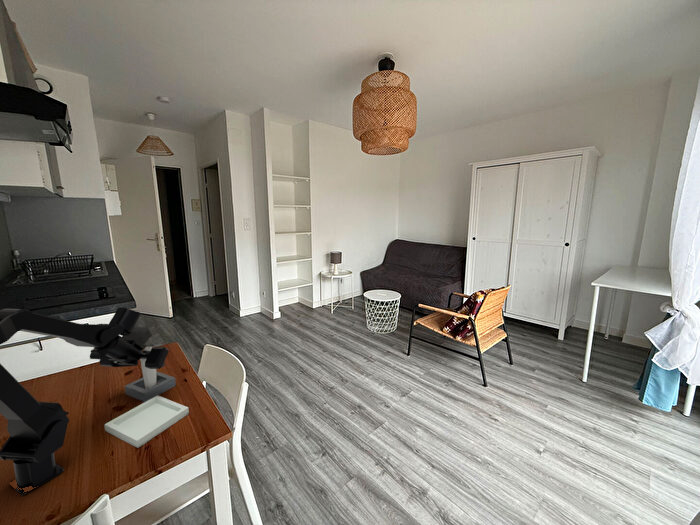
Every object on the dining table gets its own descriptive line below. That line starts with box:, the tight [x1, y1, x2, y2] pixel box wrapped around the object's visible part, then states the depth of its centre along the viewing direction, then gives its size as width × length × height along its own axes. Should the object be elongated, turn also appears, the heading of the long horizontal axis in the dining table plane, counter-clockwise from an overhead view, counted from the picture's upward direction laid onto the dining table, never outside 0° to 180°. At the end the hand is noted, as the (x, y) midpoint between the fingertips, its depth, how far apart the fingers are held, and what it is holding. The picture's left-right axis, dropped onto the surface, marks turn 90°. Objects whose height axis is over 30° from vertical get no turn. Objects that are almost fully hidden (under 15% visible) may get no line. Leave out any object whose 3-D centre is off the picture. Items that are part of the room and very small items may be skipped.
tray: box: [104, 395, 190, 449], centre depth 79 cm, size 14×14×2 cm
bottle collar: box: [124, 370, 176, 403], centre depth 93 cm, size 10×10×3 cm
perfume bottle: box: [139, 346, 158, 390], centre depth 93 cm, size 5×4×15 cm
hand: (150, 364), depth 93 cm, fingers open, 9 cm apart
